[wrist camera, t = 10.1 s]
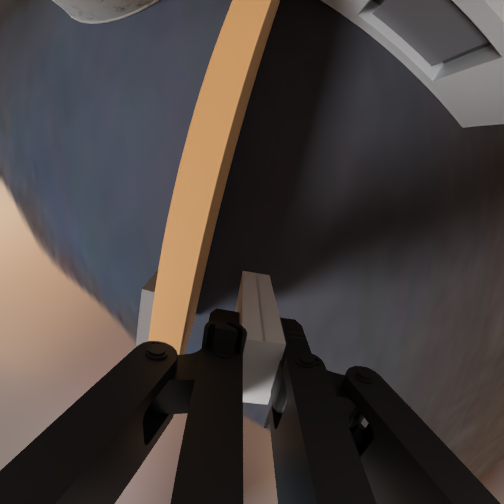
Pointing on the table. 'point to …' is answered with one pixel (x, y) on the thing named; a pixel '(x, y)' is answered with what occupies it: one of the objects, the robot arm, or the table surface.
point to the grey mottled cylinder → (103, 9)
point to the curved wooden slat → (204, 175)
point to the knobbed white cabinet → (443, 49)
